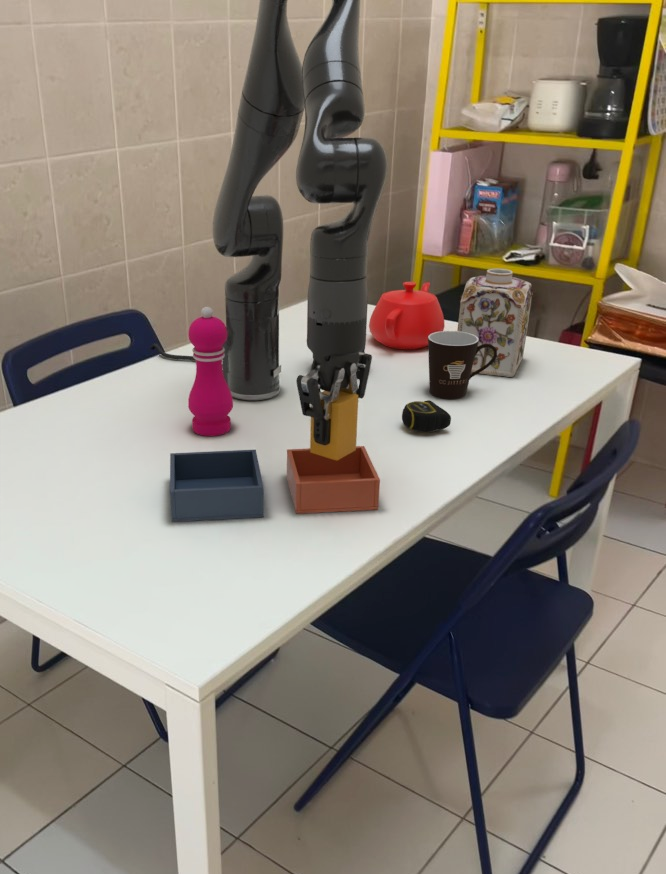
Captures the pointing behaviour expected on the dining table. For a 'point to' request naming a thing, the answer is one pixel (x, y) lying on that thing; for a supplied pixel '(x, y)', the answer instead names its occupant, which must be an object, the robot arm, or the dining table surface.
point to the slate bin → (215, 485)
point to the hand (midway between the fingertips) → (333, 436)
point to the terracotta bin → (332, 482)
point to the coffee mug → (453, 362)
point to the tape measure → (425, 416)
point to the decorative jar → (497, 319)
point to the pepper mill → (209, 377)
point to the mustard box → (339, 428)
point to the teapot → (406, 317)
